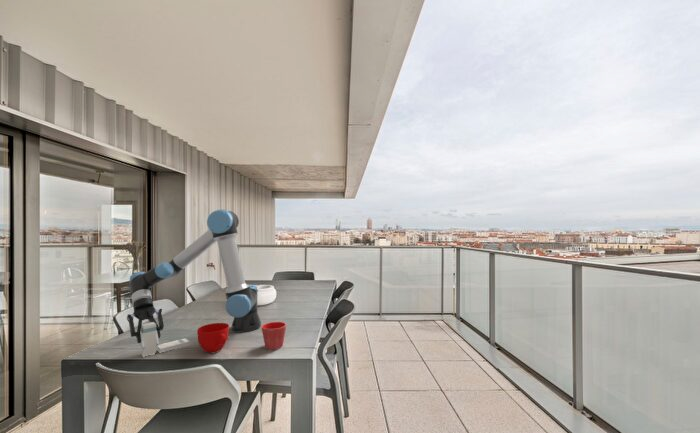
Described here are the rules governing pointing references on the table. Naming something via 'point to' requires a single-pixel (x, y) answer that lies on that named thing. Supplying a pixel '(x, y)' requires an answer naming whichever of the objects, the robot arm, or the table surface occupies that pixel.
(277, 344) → the flower pot
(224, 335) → the ceramic cup
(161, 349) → the strip
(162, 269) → the robot arm
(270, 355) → the table surface
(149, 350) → the stub
